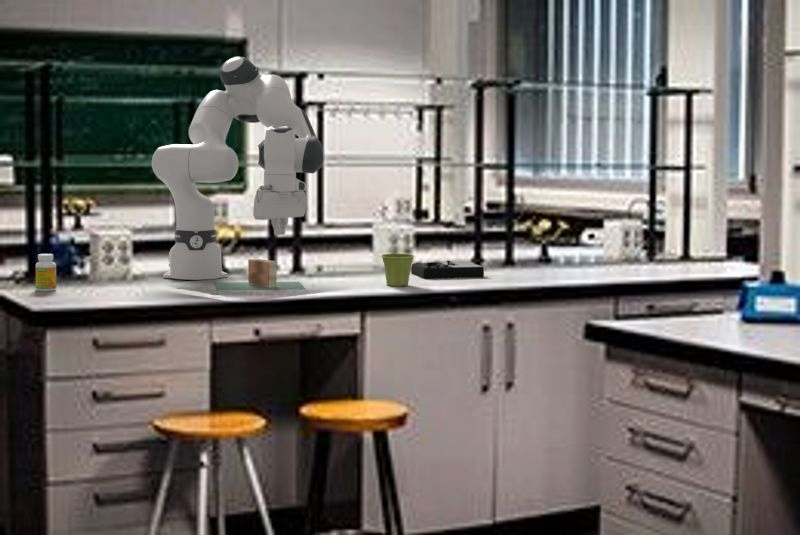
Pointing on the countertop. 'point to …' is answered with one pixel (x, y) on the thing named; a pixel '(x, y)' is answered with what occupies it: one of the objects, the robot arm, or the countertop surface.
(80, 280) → the countertop surface
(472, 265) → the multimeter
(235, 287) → the green mat
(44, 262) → the supplement bottle
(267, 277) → the brown wood block
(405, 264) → the plant pot
